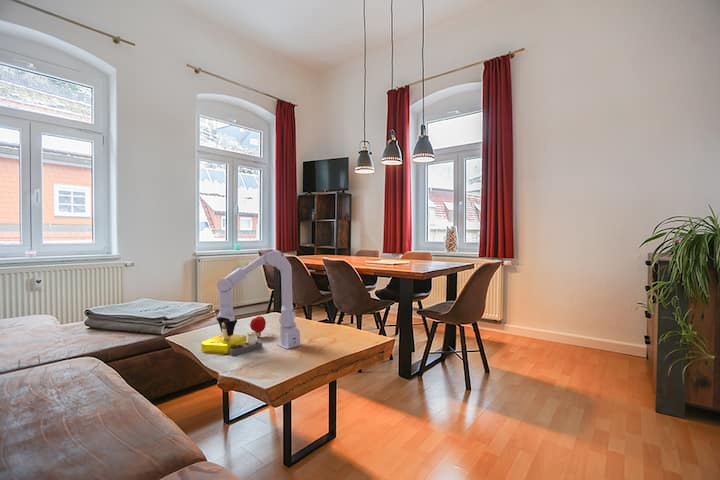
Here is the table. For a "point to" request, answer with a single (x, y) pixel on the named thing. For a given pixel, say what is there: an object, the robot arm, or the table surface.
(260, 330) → the light bulb
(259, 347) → the fuse block
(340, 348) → the table surface
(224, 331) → the fuse
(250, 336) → the cylinder
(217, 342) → the element tile
